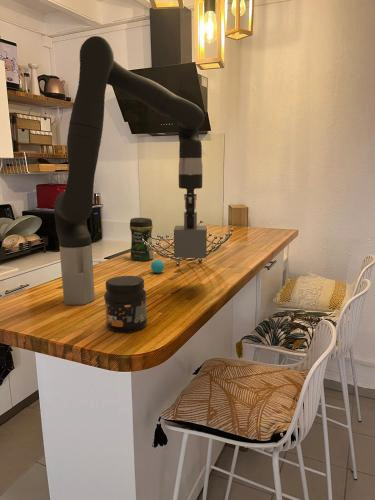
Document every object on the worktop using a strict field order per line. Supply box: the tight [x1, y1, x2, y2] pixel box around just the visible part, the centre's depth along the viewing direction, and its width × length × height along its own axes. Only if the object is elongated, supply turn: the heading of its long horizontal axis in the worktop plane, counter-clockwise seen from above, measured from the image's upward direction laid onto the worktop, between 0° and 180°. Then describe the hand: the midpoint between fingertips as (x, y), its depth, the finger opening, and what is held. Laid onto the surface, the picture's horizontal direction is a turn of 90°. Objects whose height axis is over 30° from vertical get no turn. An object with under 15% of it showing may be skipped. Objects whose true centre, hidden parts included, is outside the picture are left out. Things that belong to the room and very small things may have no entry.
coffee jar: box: [129, 217, 154, 262], centre depth 172 cm, size 10×8×19 cm
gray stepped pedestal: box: [173, 211, 208, 259], centre depth 128 cm, size 10×10×14 cm
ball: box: [150, 259, 165, 274], centre depth 151 cm, size 5×5×5 cm
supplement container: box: [103, 275, 148, 333], centre depth 100 cm, size 10×10×12 cm
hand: (190, 226), depth 127 cm, fingers closed on gray stepped pedestal, 4 cm apart
